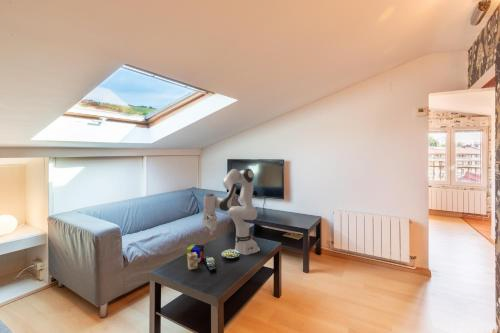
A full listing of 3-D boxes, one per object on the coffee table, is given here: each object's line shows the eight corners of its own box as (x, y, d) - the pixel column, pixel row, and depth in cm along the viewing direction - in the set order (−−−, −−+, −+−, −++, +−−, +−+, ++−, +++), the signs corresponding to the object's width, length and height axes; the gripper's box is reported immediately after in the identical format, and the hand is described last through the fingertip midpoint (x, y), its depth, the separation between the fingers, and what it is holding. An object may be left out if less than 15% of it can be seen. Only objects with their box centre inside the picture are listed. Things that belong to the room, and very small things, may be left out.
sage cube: (212, 263, 195) (212, 257, 195) (214, 266, 191) (214, 259, 191) (206, 264, 193) (206, 258, 193) (207, 267, 189) (207, 260, 188)
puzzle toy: (198, 262, 196) (198, 250, 196) (186, 261, 198) (186, 249, 198) (203, 257, 206) (203, 245, 206) (192, 256, 208) (192, 244, 208)
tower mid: (195, 258, 192) (195, 252, 192) (197, 261, 187) (197, 255, 186) (187, 259, 190) (187, 253, 189) (189, 263, 184) (189, 256, 184)
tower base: (195, 264, 192) (195, 258, 192) (197, 268, 187) (197, 261, 187) (187, 266, 190) (187, 259, 190) (189, 269, 185) (189, 263, 184)
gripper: (200, 212, 200) (200, 230, 201) (210, 218, 183) (209, 237, 183) (208, 212, 204) (207, 229, 204) (218, 217, 186) (217, 236, 186)
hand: (208, 233), depth 193 cm, fingers open, 8 cm apart
